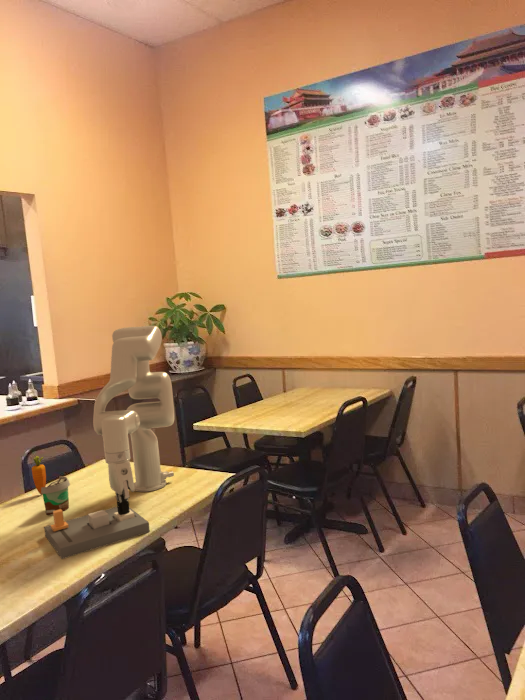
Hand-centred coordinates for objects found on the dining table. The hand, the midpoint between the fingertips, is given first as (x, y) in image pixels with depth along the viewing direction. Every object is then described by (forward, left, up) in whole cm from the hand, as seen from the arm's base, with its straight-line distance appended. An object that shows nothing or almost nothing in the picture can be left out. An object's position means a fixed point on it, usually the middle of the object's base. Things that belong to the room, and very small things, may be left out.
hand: (123, 513), depth 183 cm
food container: (+12, -30, -4) cm, 33 cm away
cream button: (0, 0, -4) cm, 4 cm away
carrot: (+14, -52, -4) cm, 54 cm away
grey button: (+8, 0, -2) cm, 8 cm away
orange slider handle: (+18, -5, -1) cm, 19 cm away
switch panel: (+9, 0, -4) cm, 10 cm away
